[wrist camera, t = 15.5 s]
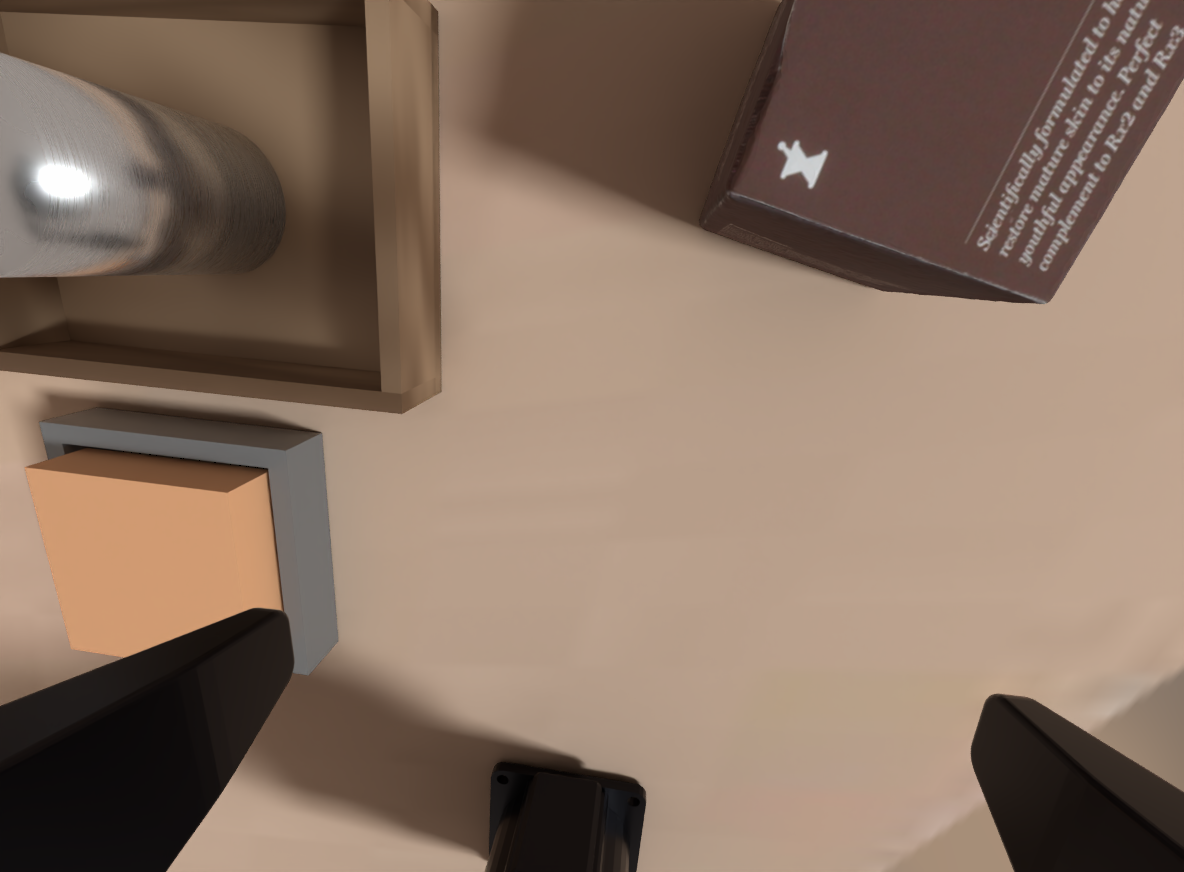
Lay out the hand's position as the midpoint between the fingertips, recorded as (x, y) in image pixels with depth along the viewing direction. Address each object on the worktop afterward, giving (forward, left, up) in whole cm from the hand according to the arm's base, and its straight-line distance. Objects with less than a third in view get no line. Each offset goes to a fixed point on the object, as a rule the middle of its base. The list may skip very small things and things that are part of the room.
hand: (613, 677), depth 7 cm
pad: (-6, +16, -10) cm, 20 cm away
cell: (+6, +14, -11) cm, 19 cm away
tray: (+6, +14, -12) cm, 19 cm away
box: (+8, -5, -12) cm, 15 cm away
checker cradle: (-6, +16, -12) cm, 21 cm away
